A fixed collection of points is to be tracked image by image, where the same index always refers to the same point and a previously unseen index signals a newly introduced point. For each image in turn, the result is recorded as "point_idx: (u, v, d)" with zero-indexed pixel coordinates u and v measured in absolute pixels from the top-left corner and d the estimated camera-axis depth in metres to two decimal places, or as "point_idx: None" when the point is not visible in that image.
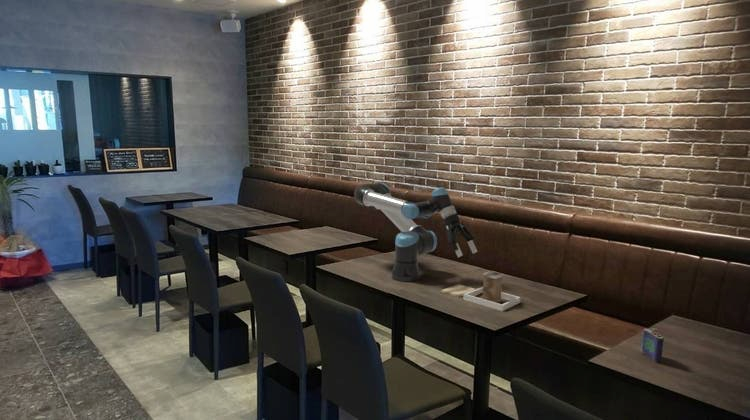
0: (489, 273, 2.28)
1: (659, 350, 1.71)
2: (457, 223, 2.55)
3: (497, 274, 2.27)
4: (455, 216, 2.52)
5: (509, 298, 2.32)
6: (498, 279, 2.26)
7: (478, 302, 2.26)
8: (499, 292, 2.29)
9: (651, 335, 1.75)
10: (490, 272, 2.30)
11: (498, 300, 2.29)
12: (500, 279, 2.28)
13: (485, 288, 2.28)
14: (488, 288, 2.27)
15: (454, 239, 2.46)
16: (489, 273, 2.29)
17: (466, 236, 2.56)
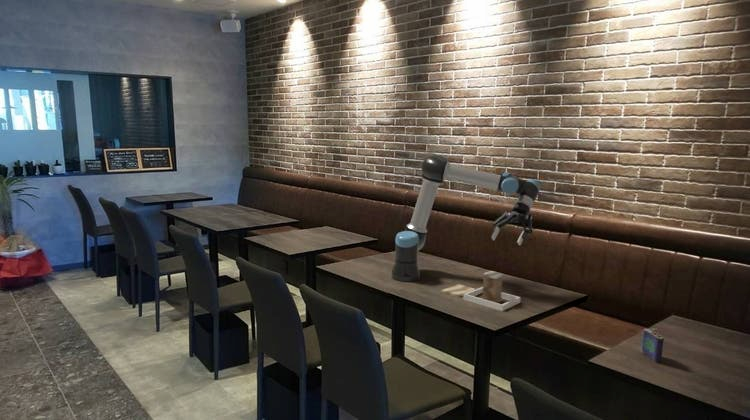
0: (489, 273, 2.28)
1: (659, 350, 1.71)
2: None
3: (497, 274, 2.27)
4: None
5: (509, 298, 2.32)
6: (498, 279, 2.26)
7: (478, 302, 2.26)
8: (499, 292, 2.29)
9: (651, 335, 1.75)
10: (490, 272, 2.30)
11: (498, 300, 2.29)
12: (500, 279, 2.28)
13: (485, 288, 2.28)
14: (488, 288, 2.27)
15: None
16: (489, 273, 2.29)
17: (503, 224, 2.46)
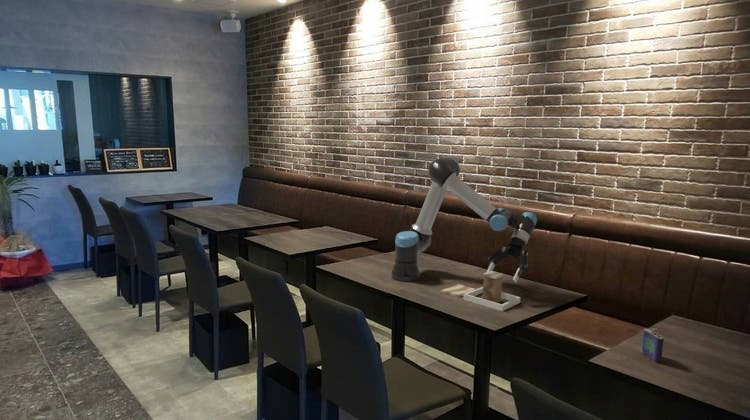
0: (489, 273, 2.28)
1: (659, 350, 1.71)
2: None
3: (497, 274, 2.27)
4: None
5: (509, 298, 2.32)
6: (498, 279, 2.26)
7: (478, 302, 2.26)
8: (499, 292, 2.29)
9: (651, 335, 1.75)
10: (490, 272, 2.30)
11: (498, 300, 2.29)
12: (500, 279, 2.28)
13: (485, 288, 2.28)
14: (488, 288, 2.27)
15: None
16: (489, 273, 2.29)
17: (498, 260, 2.39)
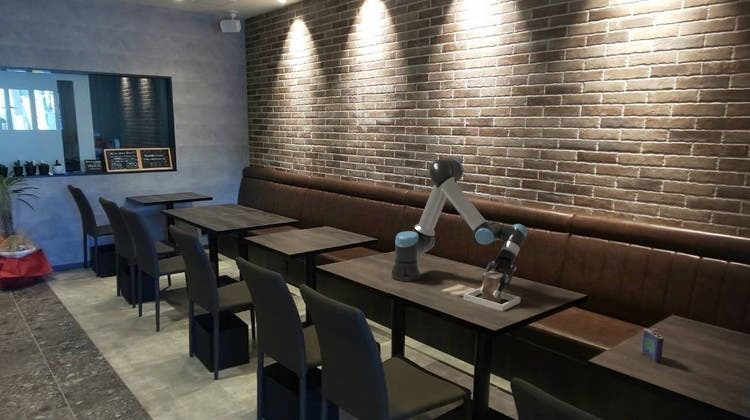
0: (489, 273, 2.28)
1: (659, 350, 1.71)
2: None
3: (497, 274, 2.27)
4: None
5: (509, 298, 2.32)
6: (498, 279, 2.26)
7: (478, 302, 2.26)
8: (499, 292, 2.29)
9: (651, 335, 1.75)
10: (490, 272, 2.30)
11: (498, 300, 2.29)
12: (500, 279, 2.27)
13: (485, 288, 2.28)
14: (488, 288, 2.27)
15: None
16: (489, 273, 2.29)
17: None
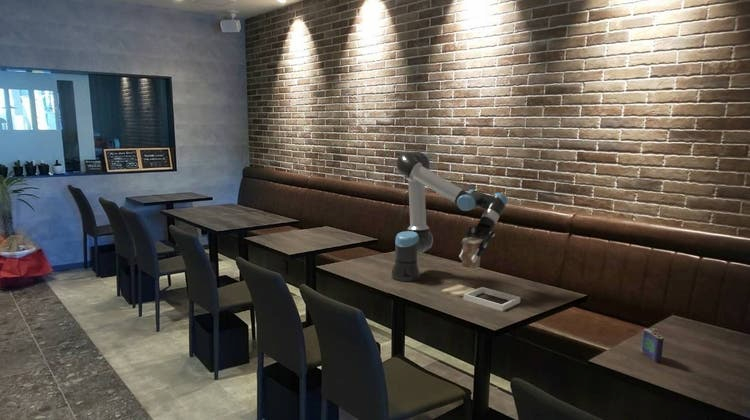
0: (468, 239, 2.34)
1: (659, 350, 1.71)
2: None
3: (476, 240, 2.33)
4: None
5: (509, 298, 2.32)
6: (477, 244, 2.32)
7: (478, 302, 2.26)
8: (478, 258, 2.35)
9: (651, 335, 1.75)
10: (469, 238, 2.36)
11: (477, 265, 2.35)
12: (479, 245, 2.34)
13: (465, 254, 2.34)
14: (467, 253, 2.33)
15: None
16: (469, 238, 2.35)
17: None
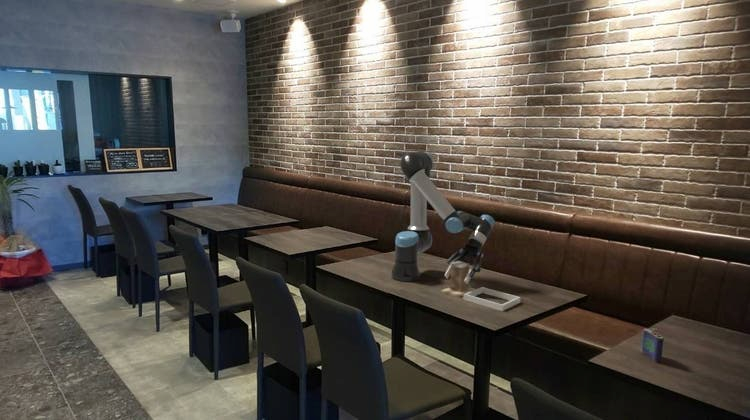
0: (456, 263, 2.40)
1: (659, 350, 1.71)
2: None
3: (463, 264, 2.39)
4: None
5: (509, 298, 2.32)
6: (464, 268, 2.38)
7: (478, 302, 2.26)
8: None
9: (651, 335, 1.75)
10: (457, 262, 2.42)
11: (465, 288, 2.41)
12: (466, 268, 2.40)
13: (453, 277, 2.40)
14: (455, 277, 2.39)
15: None
16: (456, 262, 2.41)
17: None
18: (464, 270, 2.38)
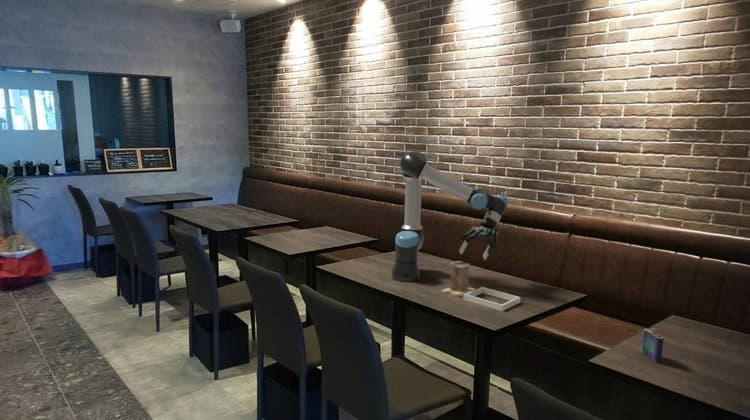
0: (456, 263, 2.40)
1: (659, 350, 1.71)
2: None
3: (463, 264, 2.39)
4: None
5: (509, 298, 2.32)
6: (464, 268, 2.38)
7: (478, 302, 2.26)
8: (466, 281, 2.41)
9: (651, 335, 1.75)
10: (457, 262, 2.42)
11: (465, 288, 2.41)
12: (466, 268, 2.40)
13: (453, 277, 2.40)
14: (455, 277, 2.39)
15: None
16: (456, 262, 2.41)
17: (471, 239, 2.54)
18: (464, 270, 2.38)
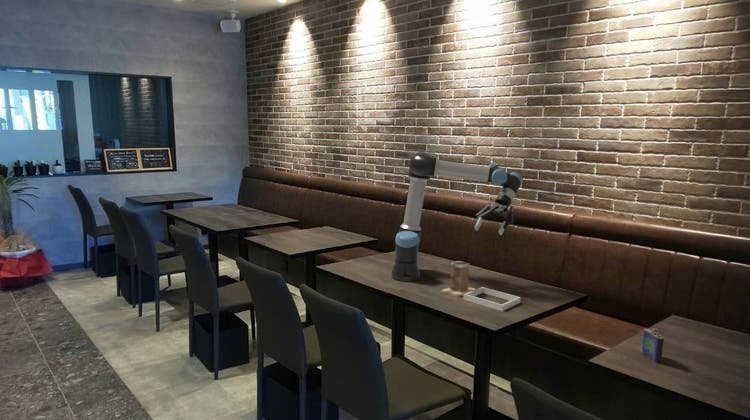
0: (456, 263, 2.40)
1: (659, 350, 1.71)
2: None
3: (463, 264, 2.39)
4: None
5: (509, 298, 2.32)
6: (464, 268, 2.38)
7: (478, 302, 2.26)
8: (466, 281, 2.41)
9: (651, 335, 1.75)
10: (457, 262, 2.42)
11: (465, 288, 2.41)
12: (466, 268, 2.40)
13: (453, 277, 2.40)
14: (455, 277, 2.39)
15: None
16: (456, 262, 2.41)
17: (486, 215, 2.56)
18: (464, 270, 2.38)
